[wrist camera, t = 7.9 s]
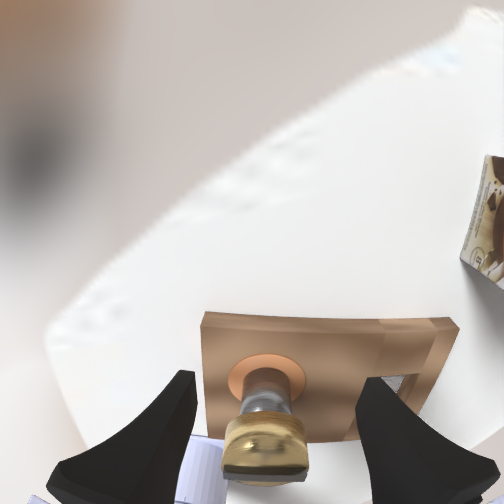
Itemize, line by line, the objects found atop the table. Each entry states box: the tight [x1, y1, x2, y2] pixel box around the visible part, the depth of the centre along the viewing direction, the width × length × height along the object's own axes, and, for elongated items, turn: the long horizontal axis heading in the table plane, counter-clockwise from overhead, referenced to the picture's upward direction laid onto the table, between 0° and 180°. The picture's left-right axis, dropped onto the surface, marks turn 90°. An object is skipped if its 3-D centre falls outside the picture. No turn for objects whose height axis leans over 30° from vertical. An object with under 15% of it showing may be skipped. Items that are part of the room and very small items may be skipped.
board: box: [200, 311, 460, 443], centre depth 23 cm, size 14×21×2 cm, turn 87°
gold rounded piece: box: [221, 367, 309, 486], centre depth 17 cm, size 5×5×9 cm
